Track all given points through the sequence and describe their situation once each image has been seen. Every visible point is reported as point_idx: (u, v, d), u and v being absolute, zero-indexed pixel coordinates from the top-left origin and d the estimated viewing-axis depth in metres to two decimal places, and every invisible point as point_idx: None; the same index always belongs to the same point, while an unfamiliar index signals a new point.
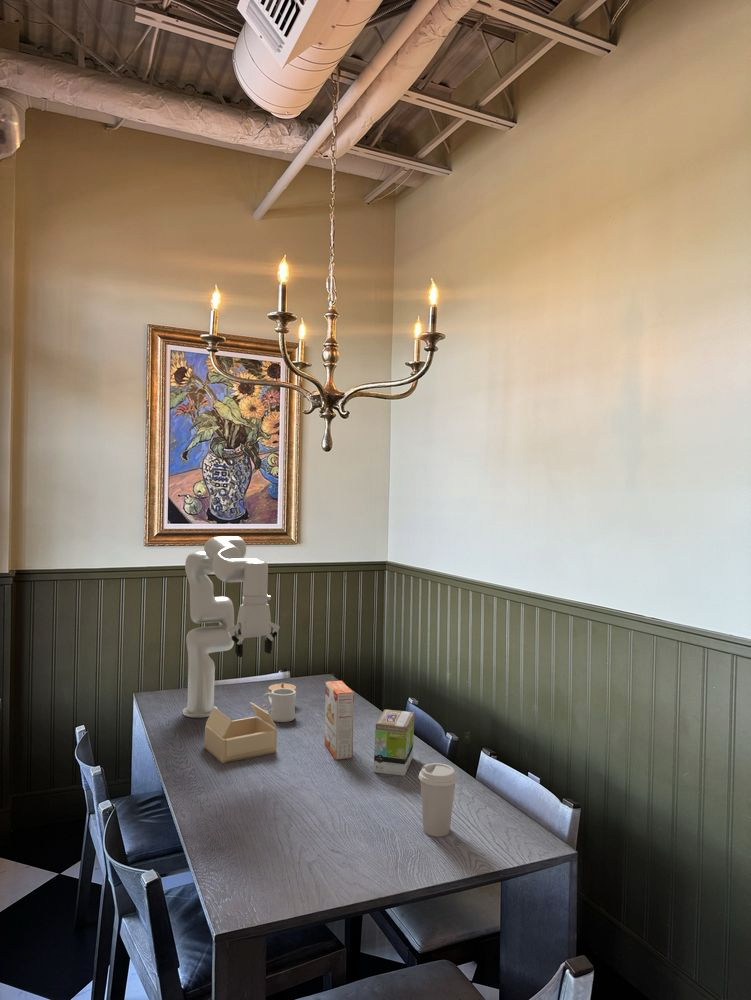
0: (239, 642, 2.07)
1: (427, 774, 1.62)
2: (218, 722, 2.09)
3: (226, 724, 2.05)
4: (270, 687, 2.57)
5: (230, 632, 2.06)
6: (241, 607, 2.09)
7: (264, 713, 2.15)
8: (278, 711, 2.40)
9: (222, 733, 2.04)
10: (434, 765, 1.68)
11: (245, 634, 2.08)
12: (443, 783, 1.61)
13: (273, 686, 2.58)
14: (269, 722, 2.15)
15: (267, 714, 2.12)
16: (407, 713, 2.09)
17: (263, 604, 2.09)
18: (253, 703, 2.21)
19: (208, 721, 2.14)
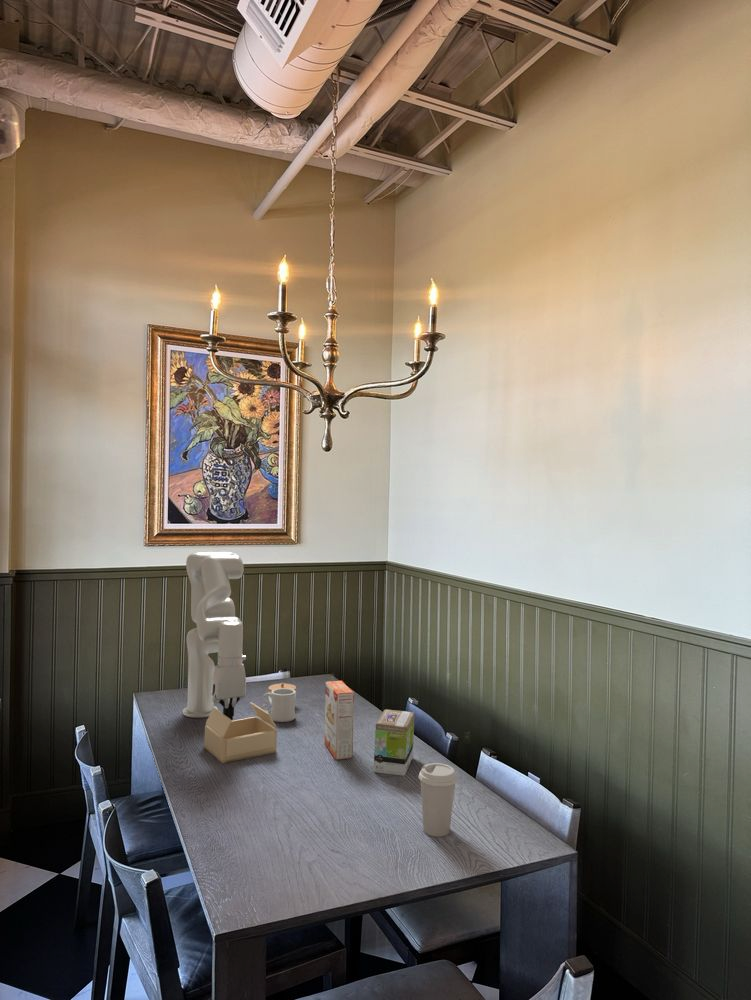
0: (227, 706, 2.10)
1: (427, 774, 1.62)
2: (218, 722, 2.09)
3: (225, 723, 2.05)
4: (270, 687, 2.57)
5: (215, 701, 2.08)
6: (216, 669, 2.08)
7: (264, 713, 2.15)
8: (278, 711, 2.40)
9: (222, 733, 2.04)
10: (434, 765, 1.68)
11: (220, 696, 2.07)
12: (443, 783, 1.61)
13: (273, 686, 2.58)
14: (269, 722, 2.15)
15: (267, 714, 2.12)
16: (407, 713, 2.09)
17: (238, 665, 2.09)
18: (253, 703, 2.21)
19: (208, 721, 2.14)
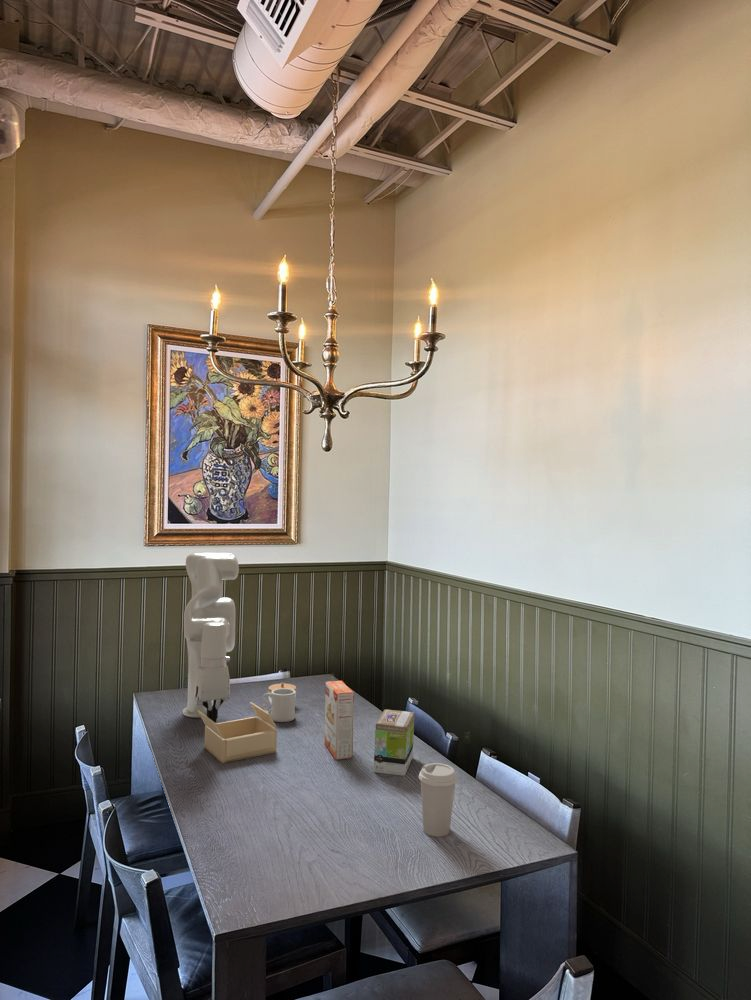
0: (210, 708, 2.06)
1: (427, 774, 1.62)
2: (209, 724, 2.07)
3: (214, 726, 2.03)
4: (270, 687, 2.57)
5: (198, 704, 2.04)
6: (199, 670, 2.05)
7: (264, 713, 2.15)
8: (278, 711, 2.40)
9: (219, 734, 2.03)
10: (434, 765, 1.68)
11: (203, 698, 2.04)
12: (443, 783, 1.61)
13: (273, 686, 2.58)
14: (269, 722, 2.15)
15: (267, 714, 2.12)
16: (407, 713, 2.09)
17: (221, 667, 2.06)
18: (253, 703, 2.21)
19: (204, 722, 2.13)
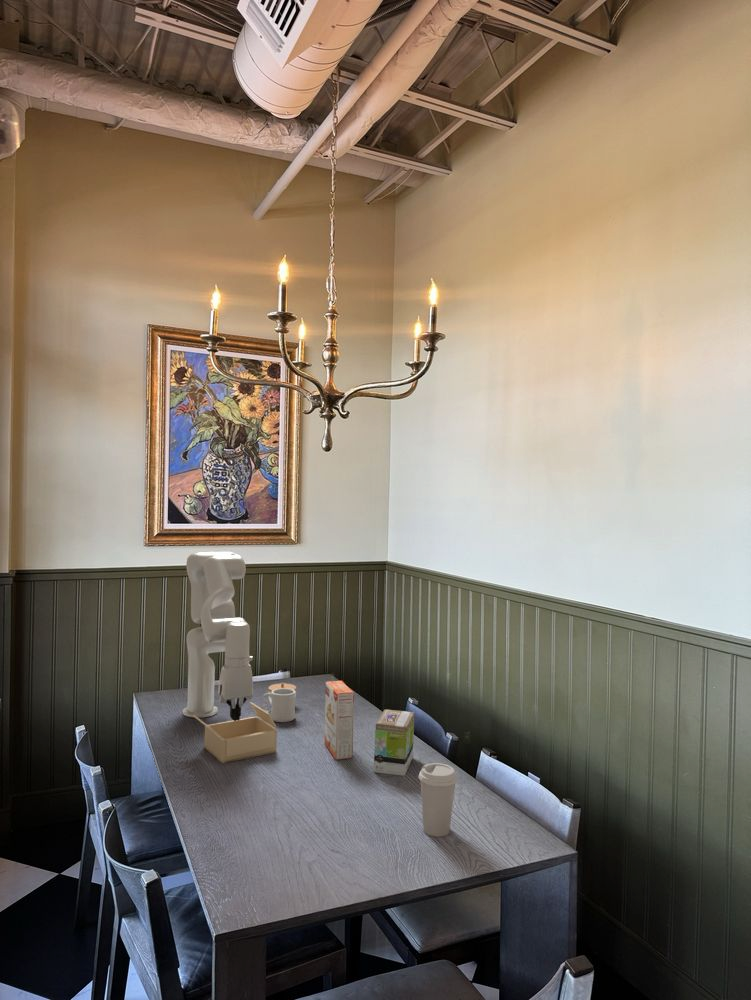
0: (233, 706, 2.11)
1: (427, 774, 1.62)
2: None
3: (211, 730, 2.02)
4: (270, 687, 2.57)
5: (222, 702, 2.09)
6: (223, 669, 2.10)
7: (264, 713, 2.15)
8: (278, 711, 2.40)
9: (218, 735, 2.03)
10: (434, 765, 1.68)
11: (226, 696, 2.09)
12: (443, 783, 1.61)
13: (273, 686, 2.58)
14: (269, 722, 2.15)
15: (267, 714, 2.12)
16: (407, 713, 2.09)
17: (244, 666, 2.10)
18: (253, 703, 2.21)
19: None
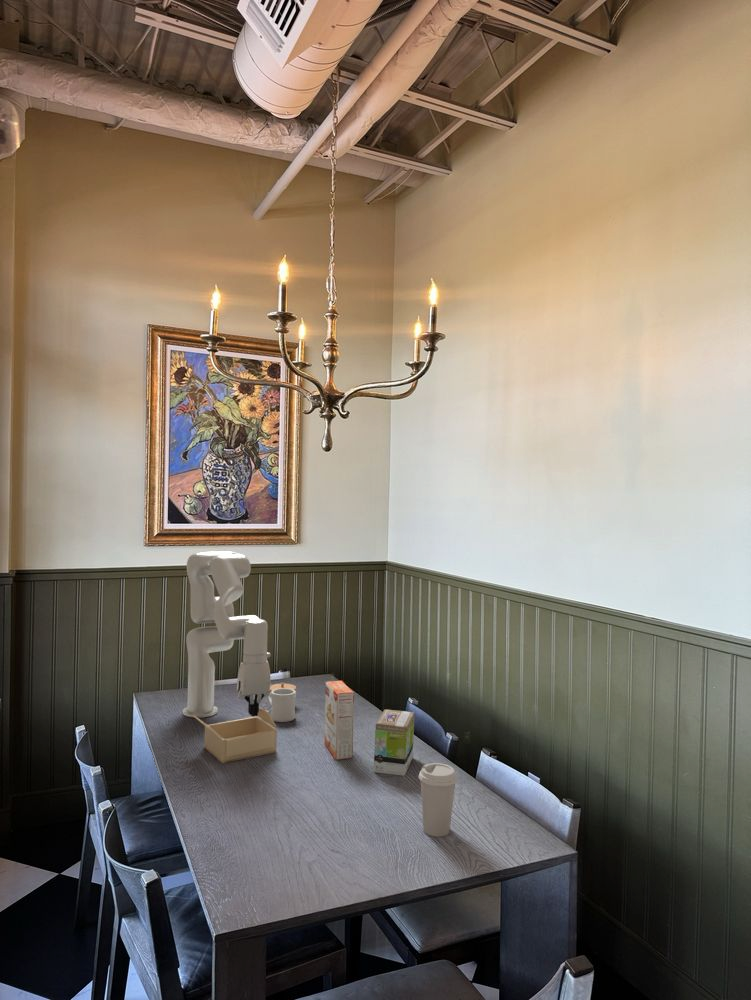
0: (252, 702, 2.14)
1: (427, 774, 1.62)
2: None
3: None
4: (270, 687, 2.57)
5: (240, 698, 2.13)
6: (241, 665, 2.13)
7: (264, 713, 2.15)
8: (278, 711, 2.40)
9: (218, 735, 2.03)
10: (434, 765, 1.68)
11: (245, 692, 2.12)
12: (443, 783, 1.61)
13: (273, 686, 2.58)
14: (269, 722, 2.16)
15: (267, 714, 2.12)
16: (407, 713, 2.09)
17: (263, 663, 2.14)
18: None
19: None
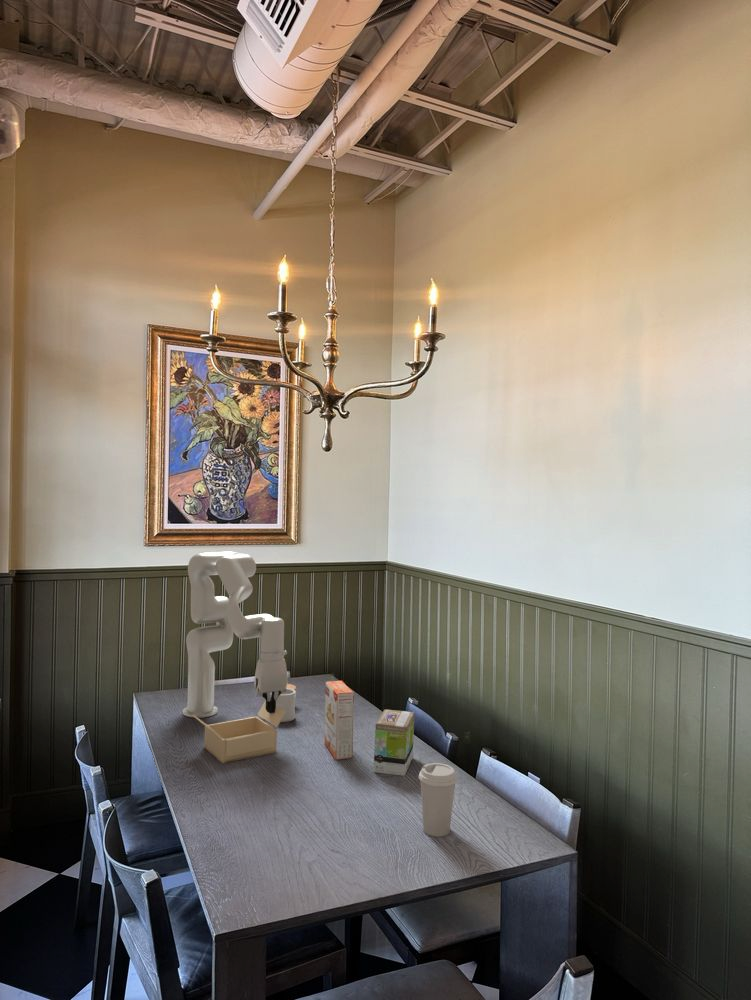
0: (269, 699, 2.18)
1: (427, 774, 1.62)
2: None
3: None
4: None
5: (258, 695, 2.16)
6: (258, 663, 2.17)
7: (278, 710, 2.17)
8: None
9: (218, 735, 2.03)
10: (434, 765, 1.68)
11: (262, 689, 2.15)
12: (443, 783, 1.61)
13: None
14: (272, 721, 2.16)
15: (283, 711, 2.15)
16: (407, 713, 2.09)
17: (280, 660, 2.17)
18: None
19: None
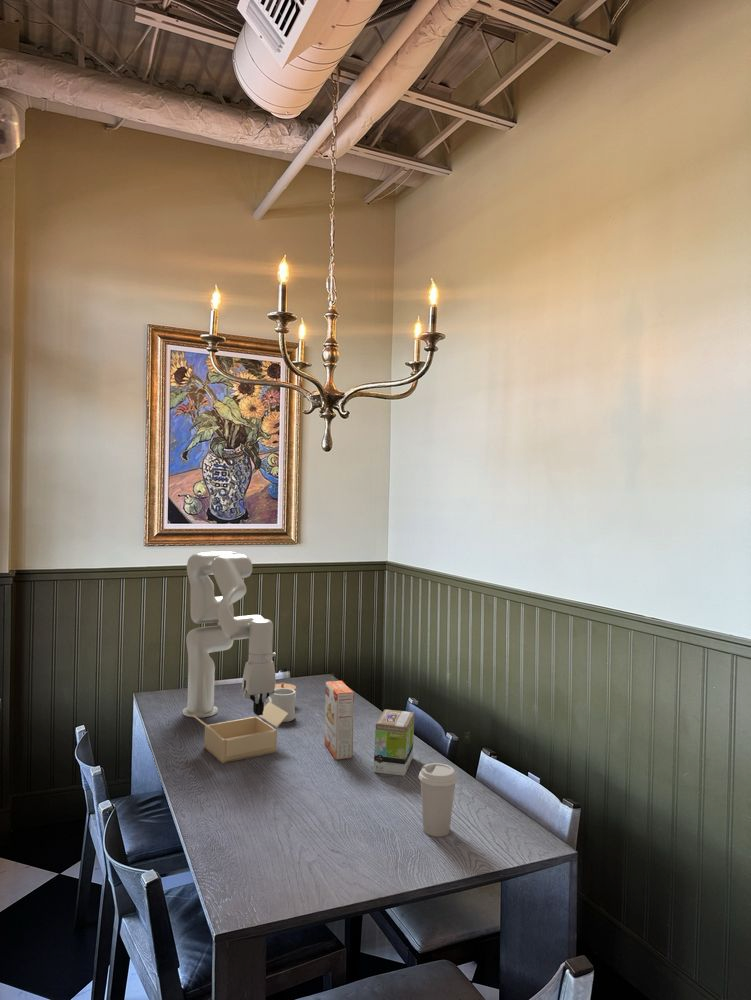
0: (257, 701, 2.16)
1: (427, 774, 1.62)
2: None
3: None
4: None
5: (246, 697, 2.14)
6: (247, 665, 2.15)
7: (280, 712, 2.18)
8: None
9: (218, 735, 2.03)
10: (434, 765, 1.68)
11: (250, 692, 2.13)
12: (443, 783, 1.61)
13: None
14: (273, 721, 2.16)
15: (285, 713, 2.16)
16: (407, 713, 2.09)
17: (268, 662, 2.15)
18: (272, 704, 2.25)
19: None
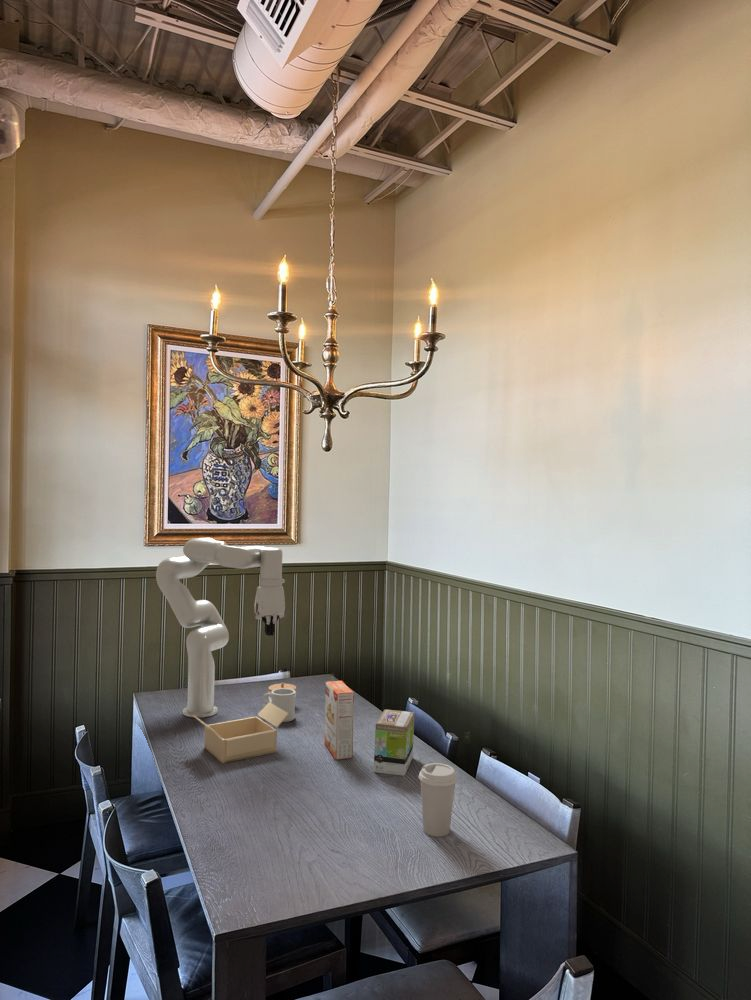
0: (268, 622, 2.35)
1: (427, 774, 1.62)
2: None
3: None
4: (270, 687, 2.57)
5: (258, 618, 2.33)
6: (258, 589, 2.34)
7: (280, 712, 2.18)
8: None
9: (218, 735, 2.03)
10: (434, 765, 1.68)
11: (262, 613, 2.32)
12: (443, 783, 1.61)
13: (273, 686, 2.58)
14: (273, 721, 2.16)
15: (286, 713, 2.16)
16: (407, 713, 2.09)
17: (278, 586, 2.34)
18: (272, 704, 2.25)
19: None
